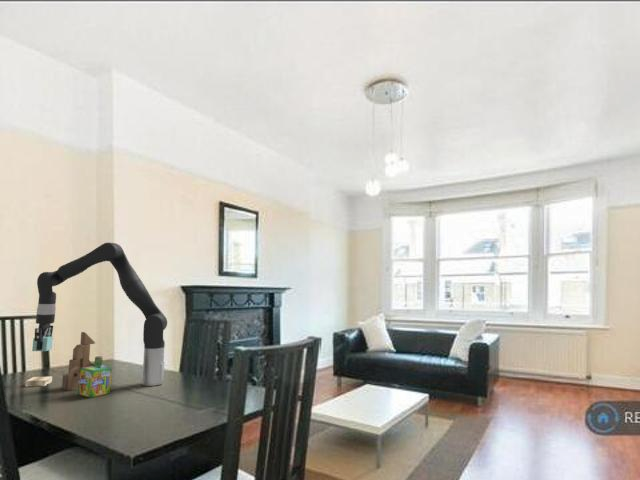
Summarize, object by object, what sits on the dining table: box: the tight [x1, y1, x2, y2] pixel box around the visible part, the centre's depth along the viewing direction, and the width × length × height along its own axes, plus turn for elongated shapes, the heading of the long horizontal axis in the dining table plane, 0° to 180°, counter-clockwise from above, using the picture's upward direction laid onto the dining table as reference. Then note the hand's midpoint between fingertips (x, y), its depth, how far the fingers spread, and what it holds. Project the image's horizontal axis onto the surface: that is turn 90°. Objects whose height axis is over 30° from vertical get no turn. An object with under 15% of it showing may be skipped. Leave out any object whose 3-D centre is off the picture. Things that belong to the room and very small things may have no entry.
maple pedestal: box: [25, 375, 53, 388], centre depth 194 cm, size 8×8×3 cm
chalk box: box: [78, 359, 113, 399], centre depth 179 cm, size 9×9×15 cm
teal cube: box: [31, 336, 54, 352], centre depth 196 cm, size 6×6×6 cm
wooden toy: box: [61, 331, 103, 391], centre depth 192 cm, size 16×7×25 cm, turn 154°
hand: (42, 348), depth 196 cm, fingers closed on teal cube, 6 cm apart
